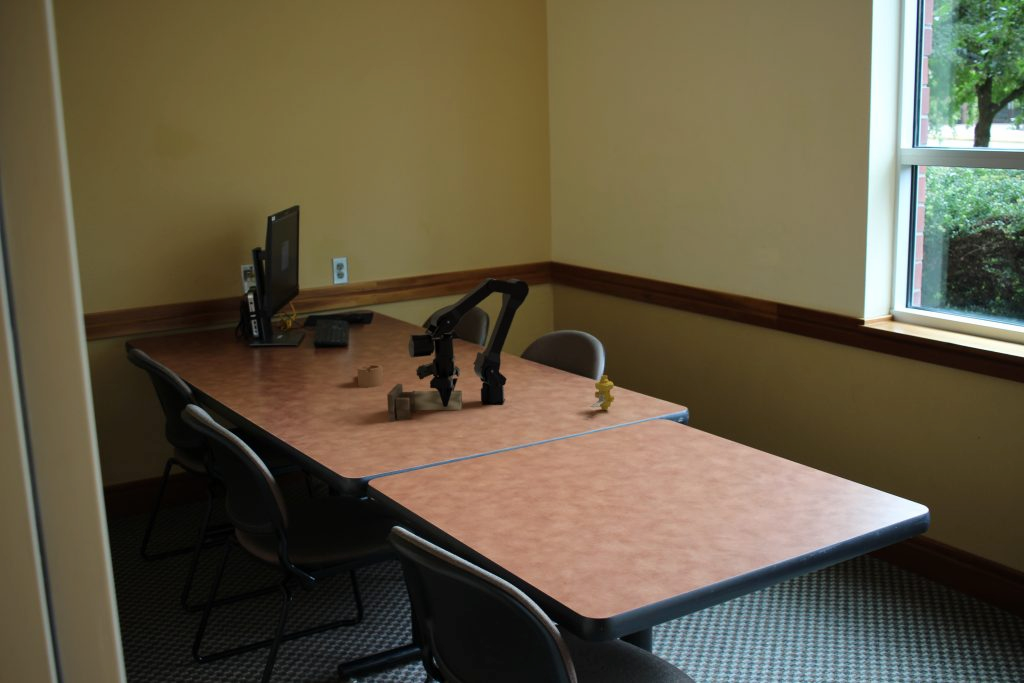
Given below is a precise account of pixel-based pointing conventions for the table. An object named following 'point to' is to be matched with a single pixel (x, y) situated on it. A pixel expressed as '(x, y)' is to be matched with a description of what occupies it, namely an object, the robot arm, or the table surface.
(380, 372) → the bracket
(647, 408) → the table surface
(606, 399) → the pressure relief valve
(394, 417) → the headboard
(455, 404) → the rail
